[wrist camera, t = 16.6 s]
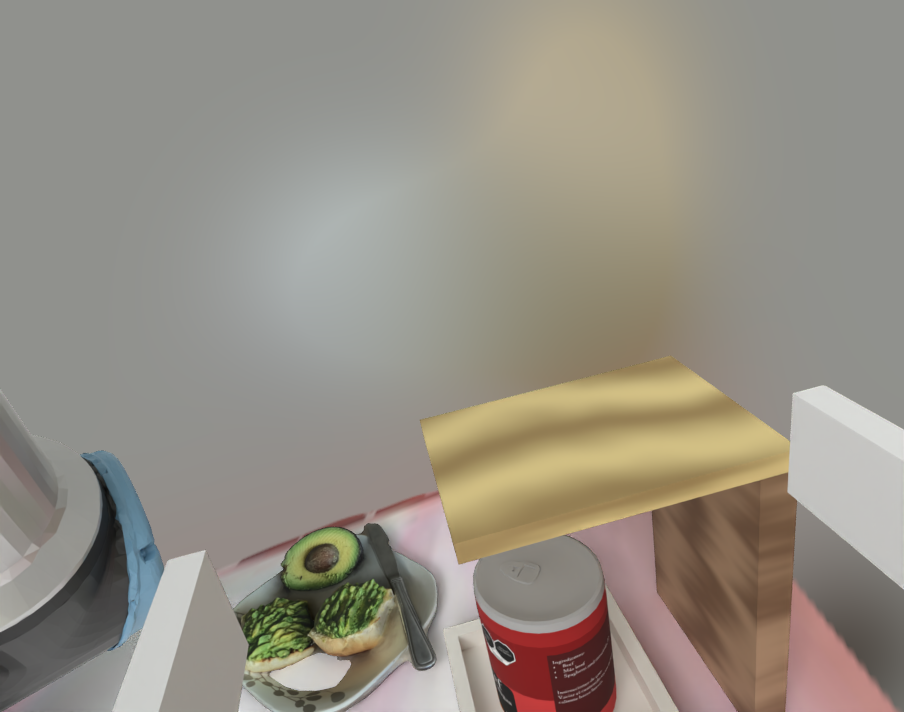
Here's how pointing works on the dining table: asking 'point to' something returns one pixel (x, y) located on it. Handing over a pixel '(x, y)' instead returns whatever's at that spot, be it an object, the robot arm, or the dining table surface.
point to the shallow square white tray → (637, 684)
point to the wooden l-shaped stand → (641, 500)
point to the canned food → (547, 627)
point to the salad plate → (337, 617)
